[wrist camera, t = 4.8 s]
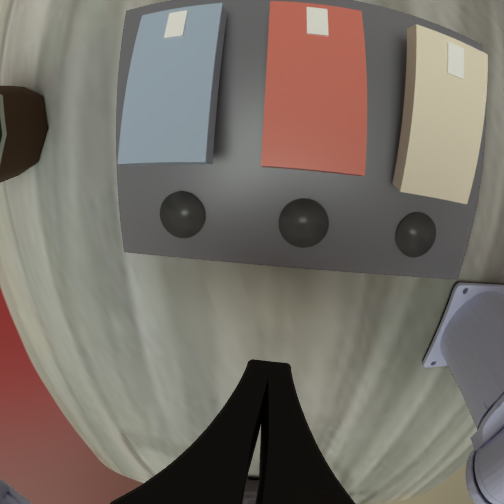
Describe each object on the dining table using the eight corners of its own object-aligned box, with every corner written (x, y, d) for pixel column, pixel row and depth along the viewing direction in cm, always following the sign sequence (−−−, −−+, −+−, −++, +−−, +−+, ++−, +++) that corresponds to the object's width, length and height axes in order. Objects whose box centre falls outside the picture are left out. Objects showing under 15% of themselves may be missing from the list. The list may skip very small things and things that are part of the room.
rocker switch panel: (447, 57, 11) (483, 43, 7) (429, 251, 16) (458, 281, 12) (157, 31, 13) (124, 9, 9) (154, 228, 18) (122, 253, 14)
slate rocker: (227, 14, 9) (221, 1, 8) (212, 164, 10) (204, 162, 9) (151, 24, 9) (141, 14, 8) (130, 165, 11) (116, 163, 10)
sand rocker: (475, 55, 7) (488, 54, 6) (456, 196, 11) (468, 205, 10) (406, 28, 7) (417, 23, 6) (392, 183, 11) (400, 192, 10)
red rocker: (356, 22, 8) (362, 9, 7) (357, 176, 10) (365, 175, 9) (271, 13, 9) (270, -1, 8) (262, 167, 10) (260, 165, 9)
